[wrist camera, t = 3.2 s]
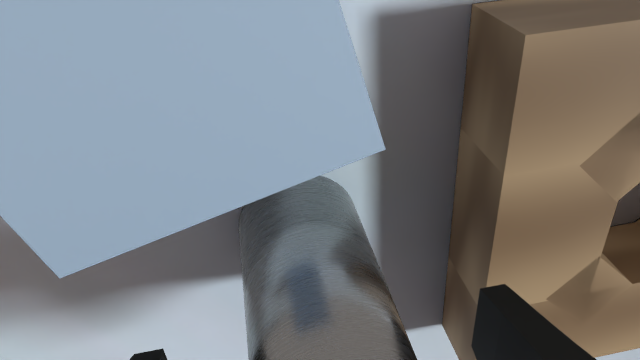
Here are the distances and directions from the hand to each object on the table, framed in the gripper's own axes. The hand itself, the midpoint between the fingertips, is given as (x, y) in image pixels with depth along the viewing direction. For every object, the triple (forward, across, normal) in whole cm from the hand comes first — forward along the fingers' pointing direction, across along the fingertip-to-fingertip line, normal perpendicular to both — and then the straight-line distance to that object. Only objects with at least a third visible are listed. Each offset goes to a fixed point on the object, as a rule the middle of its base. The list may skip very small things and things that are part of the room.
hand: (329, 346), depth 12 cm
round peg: (+5, 0, 0) cm, 5 cm away
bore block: (+5, -11, 0) cm, 12 cm away
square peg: (+5, +2, -8) cm, 9 cm away
